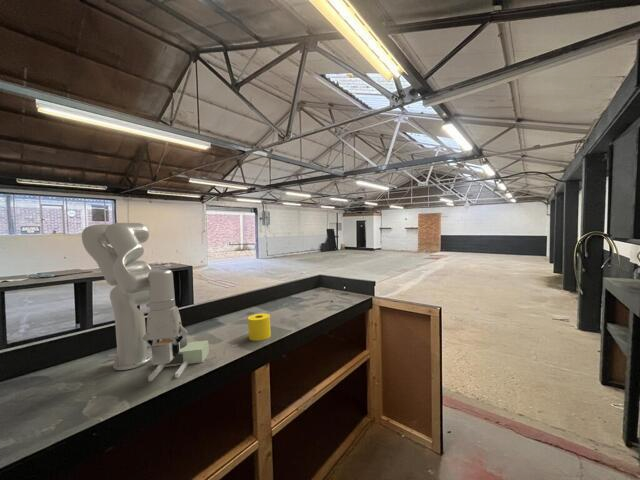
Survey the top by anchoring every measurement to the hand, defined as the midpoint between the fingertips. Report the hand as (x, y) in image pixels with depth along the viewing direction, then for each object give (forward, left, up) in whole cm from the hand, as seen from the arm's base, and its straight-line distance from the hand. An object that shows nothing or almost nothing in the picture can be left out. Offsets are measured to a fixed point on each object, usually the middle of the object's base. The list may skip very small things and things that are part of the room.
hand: (167, 355), depth 95 cm
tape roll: (+30, +28, -7) cm, 41 cm away
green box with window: (+2, +7, -7) cm, 10 cm away
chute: (0, 0, -1) cm, 1 cm away
